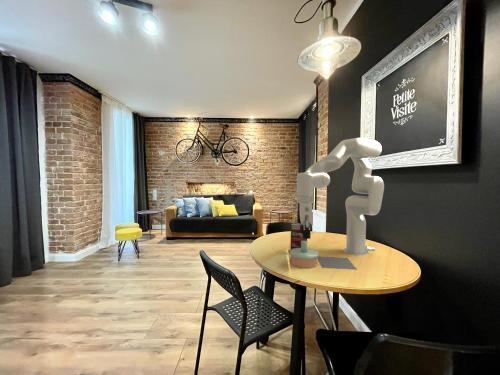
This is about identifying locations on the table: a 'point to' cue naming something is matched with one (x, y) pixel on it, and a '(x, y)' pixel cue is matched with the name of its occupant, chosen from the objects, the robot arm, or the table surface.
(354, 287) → the table surface
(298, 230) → the supplement box
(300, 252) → the lid
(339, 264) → the mat
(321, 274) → the table surface
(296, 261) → the bowl
